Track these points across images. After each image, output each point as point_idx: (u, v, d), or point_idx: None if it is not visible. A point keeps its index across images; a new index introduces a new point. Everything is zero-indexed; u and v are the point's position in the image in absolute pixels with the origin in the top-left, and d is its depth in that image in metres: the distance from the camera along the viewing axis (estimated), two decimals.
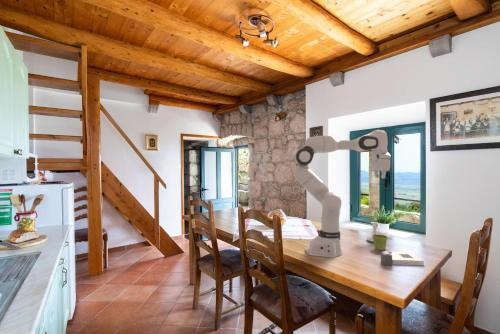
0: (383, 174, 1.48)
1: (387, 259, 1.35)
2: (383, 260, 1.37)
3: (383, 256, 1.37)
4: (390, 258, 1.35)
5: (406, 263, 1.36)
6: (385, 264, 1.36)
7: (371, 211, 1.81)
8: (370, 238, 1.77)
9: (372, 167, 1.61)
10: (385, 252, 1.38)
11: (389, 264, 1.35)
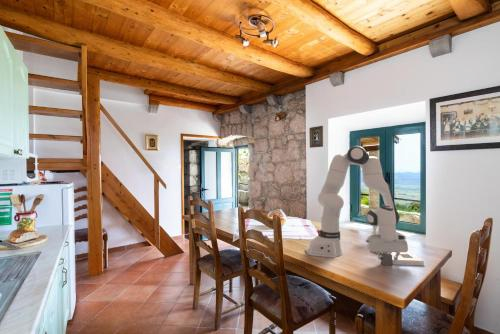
0: None
1: (387, 259, 1.35)
2: (383, 260, 1.37)
3: (383, 256, 1.37)
4: (390, 258, 1.35)
5: (406, 263, 1.36)
6: (385, 264, 1.36)
7: None
8: None
9: (375, 248, 1.37)
10: (385, 252, 1.38)
11: (389, 264, 1.35)
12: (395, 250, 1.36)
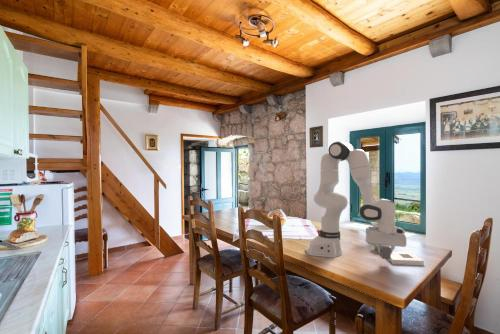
0: None
1: (385, 252, 1.34)
2: (381, 253, 1.36)
3: (382, 249, 1.36)
4: (388, 251, 1.34)
5: (406, 263, 1.36)
6: (383, 257, 1.34)
7: None
8: None
9: (372, 240, 1.37)
10: (384, 245, 1.37)
11: (387, 257, 1.34)
12: (393, 244, 1.34)
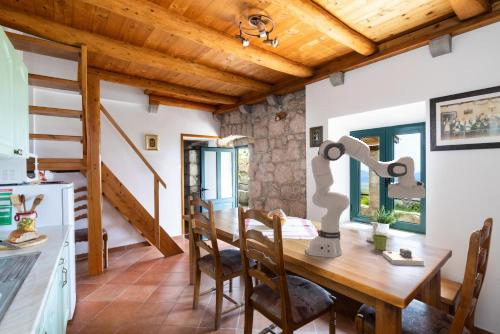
0: None
1: (406, 255, 1.41)
2: (402, 256, 1.42)
3: (402, 252, 1.42)
4: (409, 254, 1.41)
5: (406, 263, 1.36)
6: None
7: (371, 211, 1.81)
8: (370, 238, 1.77)
9: (395, 194, 1.49)
10: (404, 249, 1.44)
11: None
12: (413, 196, 1.47)
